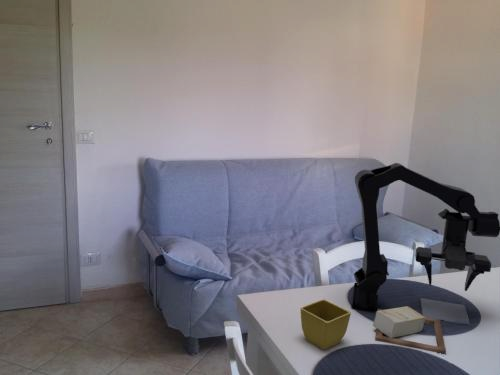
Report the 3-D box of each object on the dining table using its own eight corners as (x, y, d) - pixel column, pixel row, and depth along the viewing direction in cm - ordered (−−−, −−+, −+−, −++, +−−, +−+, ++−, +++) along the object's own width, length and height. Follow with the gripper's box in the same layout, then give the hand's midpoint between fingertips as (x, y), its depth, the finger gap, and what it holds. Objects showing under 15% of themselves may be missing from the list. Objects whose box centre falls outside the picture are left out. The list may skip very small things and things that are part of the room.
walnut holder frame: (374, 343, 109) (375, 337, 109) (377, 313, 124) (377, 308, 124) (445, 357, 104) (445, 351, 104) (439, 324, 119) (439, 319, 119)
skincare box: (426, 317, 114) (396, 322, 107) (421, 332, 115) (391, 339, 108) (406, 305, 119) (376, 309, 112) (402, 320, 120) (372, 325, 113)
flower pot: (321, 330, 114) (323, 298, 112) (348, 346, 107) (351, 311, 105) (297, 341, 108) (299, 307, 106) (324, 358, 102) (327, 322, 100)
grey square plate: (422, 318, 122) (422, 316, 122) (420, 299, 133) (420, 298, 133) (470, 326, 119) (470, 324, 119) (464, 307, 130) (464, 305, 130)
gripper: (420, 238, 116) (413, 293, 120) (499, 248, 111) (490, 306, 114) (418, 227, 127) (412, 278, 130) (490, 235, 121) (482, 288, 125)
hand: (447, 287), depth 124 cm, fingers open, 9 cm apart
